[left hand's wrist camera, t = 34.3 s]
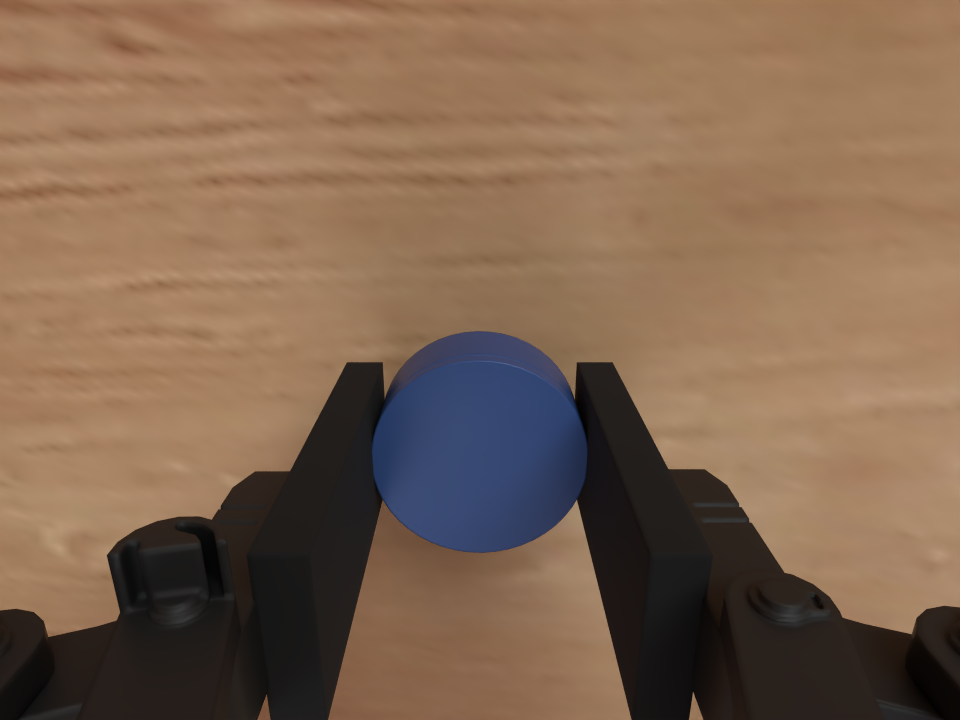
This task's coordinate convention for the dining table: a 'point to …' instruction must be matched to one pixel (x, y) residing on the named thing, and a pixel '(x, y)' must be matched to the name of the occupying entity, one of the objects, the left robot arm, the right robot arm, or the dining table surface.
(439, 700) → the dining table surface
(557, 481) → the cap
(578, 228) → the dining table surface
